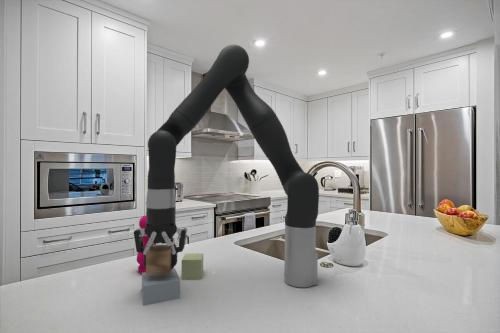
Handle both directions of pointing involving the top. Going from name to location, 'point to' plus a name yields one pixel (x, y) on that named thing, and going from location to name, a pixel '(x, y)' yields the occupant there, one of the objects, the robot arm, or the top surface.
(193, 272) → the olive block
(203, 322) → the top surface
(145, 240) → the pepper mill
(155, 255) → the walnut block
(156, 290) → the slate base block
